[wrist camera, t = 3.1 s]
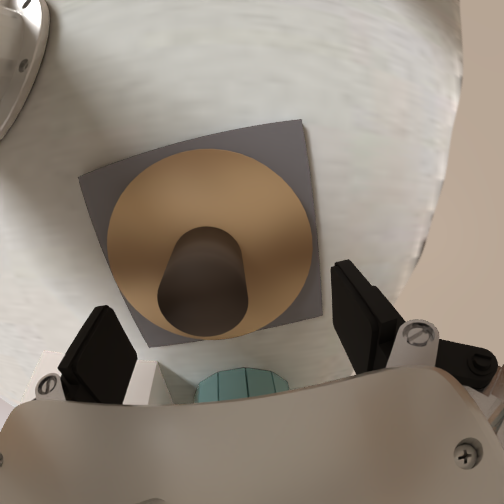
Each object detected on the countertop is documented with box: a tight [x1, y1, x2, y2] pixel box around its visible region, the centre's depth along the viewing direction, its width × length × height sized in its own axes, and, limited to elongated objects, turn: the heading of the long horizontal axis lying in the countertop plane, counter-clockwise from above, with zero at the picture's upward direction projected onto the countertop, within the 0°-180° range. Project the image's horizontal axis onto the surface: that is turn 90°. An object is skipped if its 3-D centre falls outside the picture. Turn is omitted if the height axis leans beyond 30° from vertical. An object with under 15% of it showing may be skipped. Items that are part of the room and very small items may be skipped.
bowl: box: [194, 368, 289, 403], centre depth 19 cm, size 8×8×4 cm
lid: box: [107, 149, 313, 340], centre depth 12 cm, size 11×11×5 cm
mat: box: [78, 119, 323, 348], centre depth 15 cm, size 12×12×1 cm
